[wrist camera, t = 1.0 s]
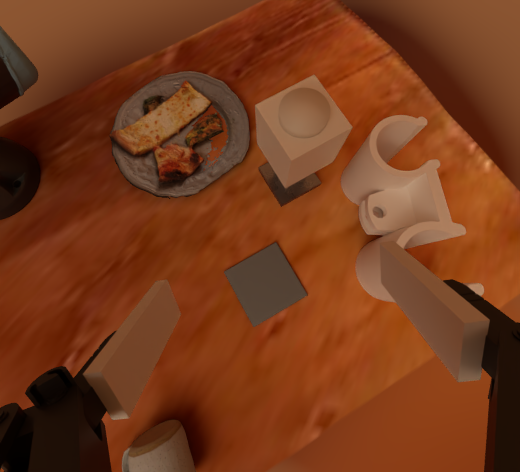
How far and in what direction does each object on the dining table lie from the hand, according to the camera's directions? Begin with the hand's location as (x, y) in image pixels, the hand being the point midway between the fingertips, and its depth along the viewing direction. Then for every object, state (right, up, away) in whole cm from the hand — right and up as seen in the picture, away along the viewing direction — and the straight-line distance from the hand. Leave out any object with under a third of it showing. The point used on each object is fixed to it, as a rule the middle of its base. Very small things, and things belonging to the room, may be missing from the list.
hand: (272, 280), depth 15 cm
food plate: (-15, +21, +31) cm, 41 cm away
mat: (0, -5, +25) cm, 26 cm away
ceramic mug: (-15, -29, +21) cm, 39 cm away
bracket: (+19, +4, +27) cm, 33 cm away
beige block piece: (+4, +15, +20) cm, 26 cm away
